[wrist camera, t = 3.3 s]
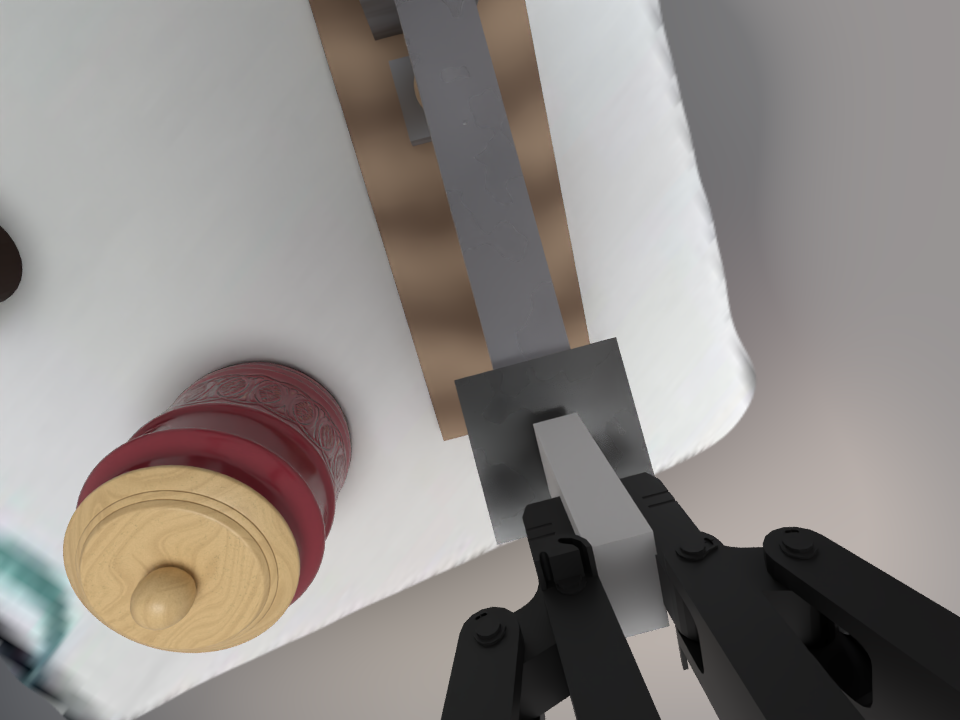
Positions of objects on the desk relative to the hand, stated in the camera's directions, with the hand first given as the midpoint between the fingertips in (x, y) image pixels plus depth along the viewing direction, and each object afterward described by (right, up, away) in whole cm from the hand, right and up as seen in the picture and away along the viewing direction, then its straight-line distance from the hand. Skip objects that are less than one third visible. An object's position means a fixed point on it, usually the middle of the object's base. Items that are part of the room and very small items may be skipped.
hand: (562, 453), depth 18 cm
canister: (-19, -3, +22) cm, 29 cm away
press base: (-4, +14, +18) cm, 23 cm away
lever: (-3, +10, +4) cm, 11 cm away
